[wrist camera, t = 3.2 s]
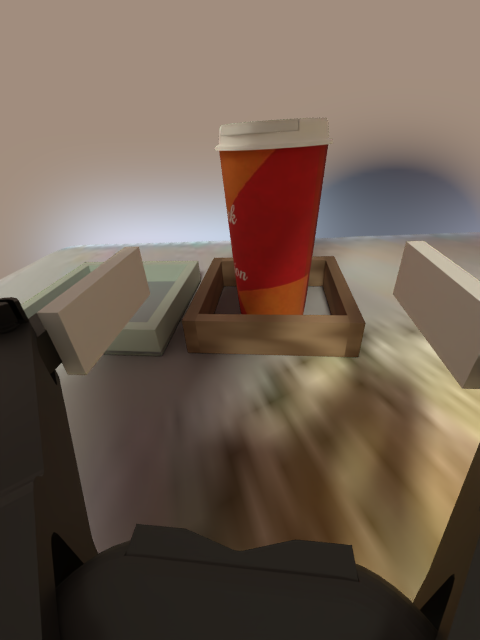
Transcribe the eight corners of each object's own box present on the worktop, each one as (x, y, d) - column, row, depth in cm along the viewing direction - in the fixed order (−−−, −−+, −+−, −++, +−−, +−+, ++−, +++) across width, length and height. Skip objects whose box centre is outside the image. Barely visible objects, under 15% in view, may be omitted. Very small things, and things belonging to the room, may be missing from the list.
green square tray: (200, 280, 34) (198, 260, 33) (161, 355, 23) (155, 329, 21) (92, 281, 36) (85, 262, 35) (3, 351, 24) (-13, 326, 23)
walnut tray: (330, 282, 32) (334, 256, 31) (358, 357, 21) (365, 323, 20) (216, 282, 34) (214, 257, 32) (187, 352, 23) (181, 320, 21)
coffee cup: (253, 286, 32) (248, 126, 24) (326, 300, 29) (348, 117, 21) (211, 323, 26) (185, 126, 18) (297, 347, 23) (312, 114, 15)
